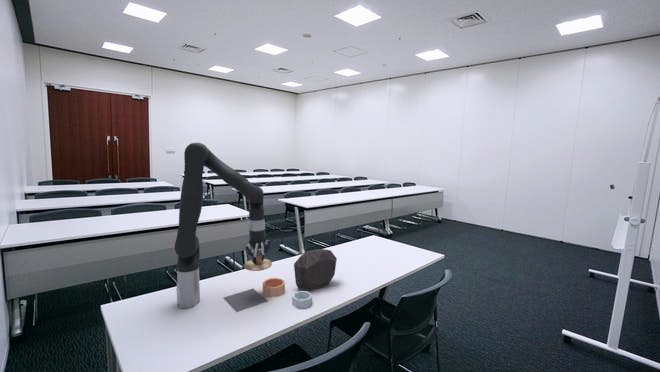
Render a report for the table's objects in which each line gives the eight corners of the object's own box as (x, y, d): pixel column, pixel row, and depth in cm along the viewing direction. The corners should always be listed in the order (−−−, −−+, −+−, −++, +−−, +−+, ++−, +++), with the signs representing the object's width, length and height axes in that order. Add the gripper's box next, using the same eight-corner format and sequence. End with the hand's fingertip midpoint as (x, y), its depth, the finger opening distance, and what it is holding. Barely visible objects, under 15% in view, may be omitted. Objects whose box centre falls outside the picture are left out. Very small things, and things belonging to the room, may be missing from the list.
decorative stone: (299, 295, 156) (300, 257, 153) (291, 288, 163) (292, 251, 160) (339, 284, 169) (340, 249, 166) (330, 278, 176) (331, 244, 173)
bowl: (269, 299, 151) (269, 289, 150) (259, 290, 159) (259, 281, 159) (288, 292, 158) (288, 283, 157) (277, 284, 166) (277, 276, 166)
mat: (236, 312, 139) (236, 312, 139) (222, 298, 151) (222, 297, 151) (268, 301, 149) (268, 301, 149) (253, 289, 161) (253, 288, 161)
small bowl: (299, 310, 142) (299, 302, 141) (289, 302, 149) (289, 294, 148) (315, 304, 148) (315, 296, 147) (304, 296, 155) (304, 289, 154)
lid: (251, 273, 142) (251, 262, 141) (239, 264, 152) (239, 254, 151) (276, 266, 150) (276, 255, 149) (263, 258, 160) (263, 248, 159)
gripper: (246, 232, 141) (248, 268, 143) (273, 227, 150) (274, 261, 152) (239, 229, 146) (241, 263, 149) (266, 224, 155) (267, 256, 158)
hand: (258, 262), depth 151 cm, fingers closed on lid, 2 cm apart
